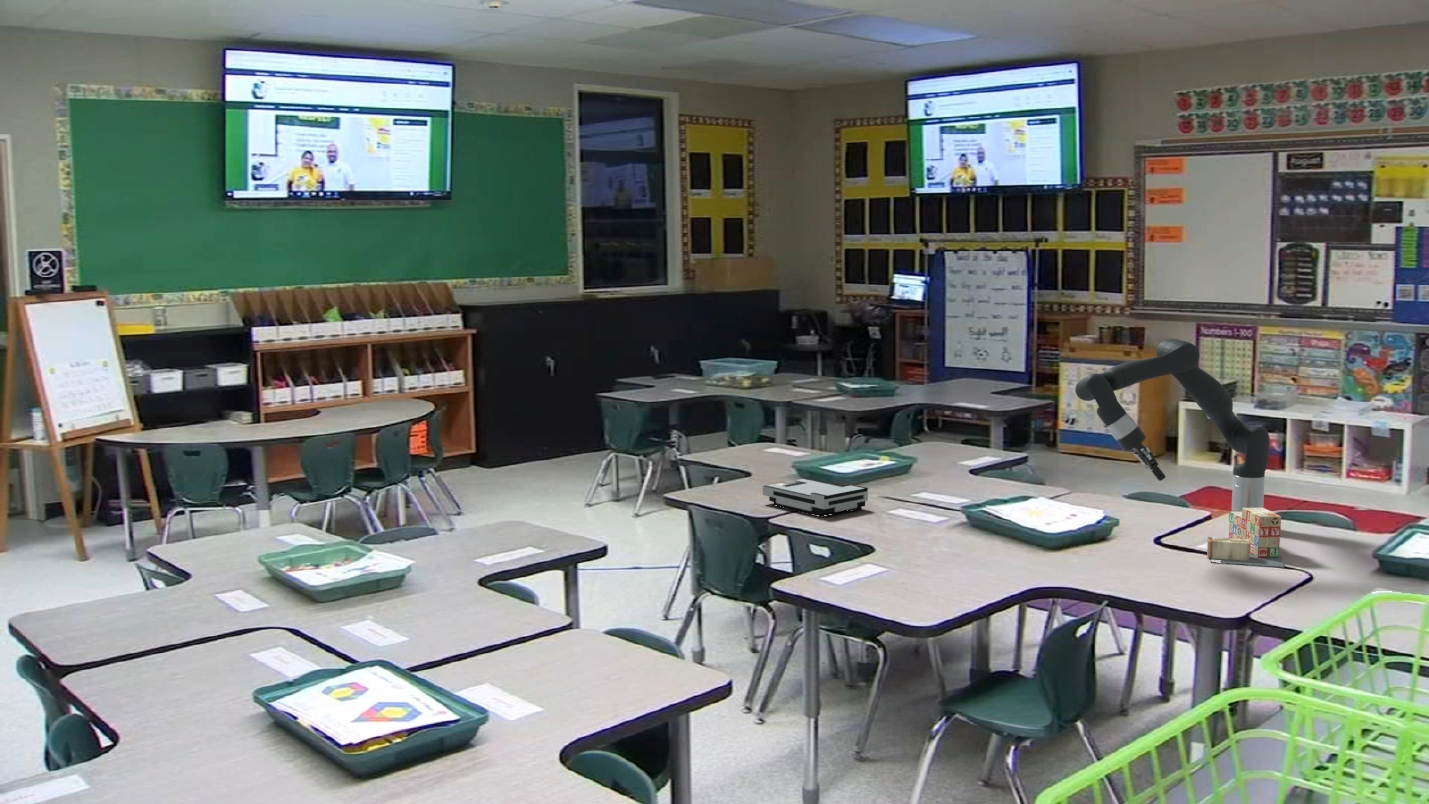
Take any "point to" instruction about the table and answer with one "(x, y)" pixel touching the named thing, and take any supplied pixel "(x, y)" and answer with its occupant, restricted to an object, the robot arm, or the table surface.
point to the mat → (1256, 561)
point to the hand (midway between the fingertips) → (1162, 479)
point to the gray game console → (817, 496)
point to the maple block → (1228, 548)
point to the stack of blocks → (1257, 530)
